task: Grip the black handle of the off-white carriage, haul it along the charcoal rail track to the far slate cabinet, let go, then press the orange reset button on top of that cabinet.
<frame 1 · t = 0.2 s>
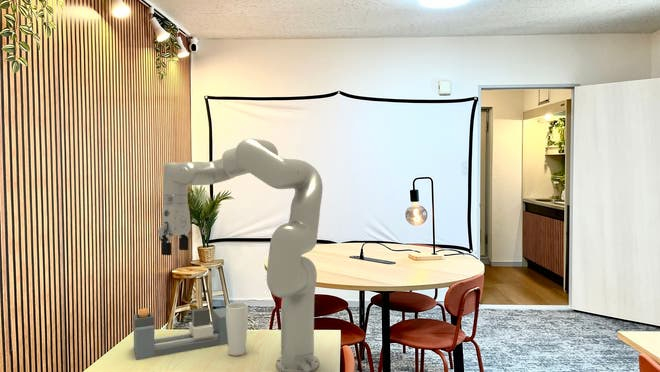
hand: (175, 252, 147), 30 cm above the table, tool pointing down, fingers open, 9 cm apart
rail track: (185, 345, 146), on the table
drinking glass: (236, 353, 140), on the table
carriage: (200, 321, 148), point 7 cm above the table, slide at -5.0 cm
reset button: (143, 314, 140), point 12 cm above the table, slide at 0.0 cm
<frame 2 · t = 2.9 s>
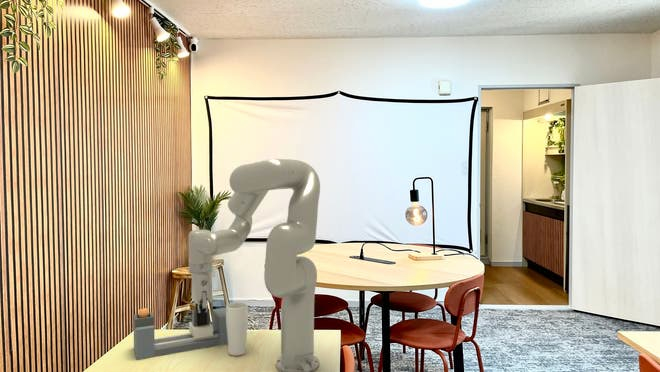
hand: (200, 322, 148), 7 cm above the table, tool pointing down, fingers closed on carriage, 3 cm apart
carriage: (200, 321, 148), point 7 cm above the table, slide at -5.0 cm, touching gripper
everything else where it was.
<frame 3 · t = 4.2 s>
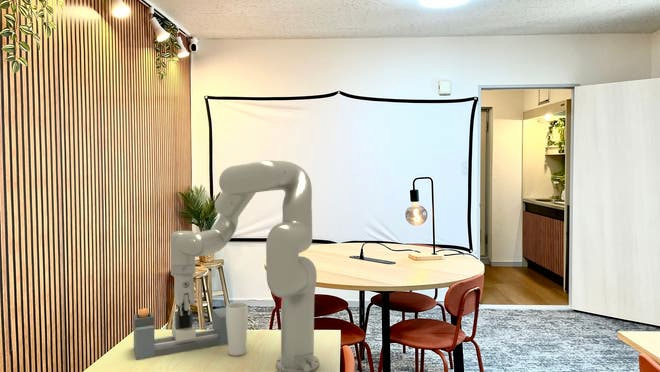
hand: (183, 325, 146), 7 cm above the table, tool pointing down, fingers closed on carriage, 3 cm apart
carriage: (183, 323, 146), point 7 cm above the table, slide at 0.5 cm, touching gripper
everything else where it was.
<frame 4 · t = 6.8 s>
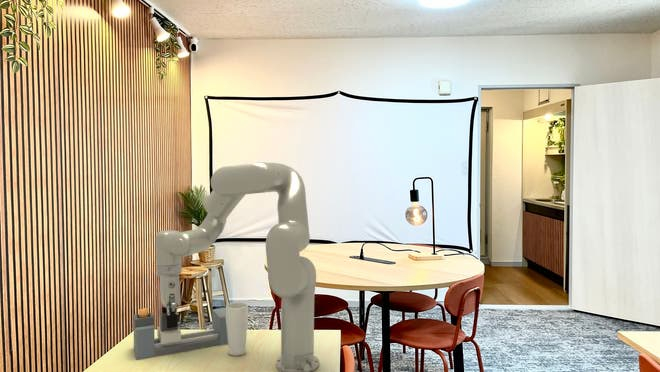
hand: (169, 322, 144), 8 cm above the table, tool pointing down, fingers open, 9 cm apart
carriage: (169, 326, 144), point 7 cm above the table, slide at 5.0 cm
everything else where it was.
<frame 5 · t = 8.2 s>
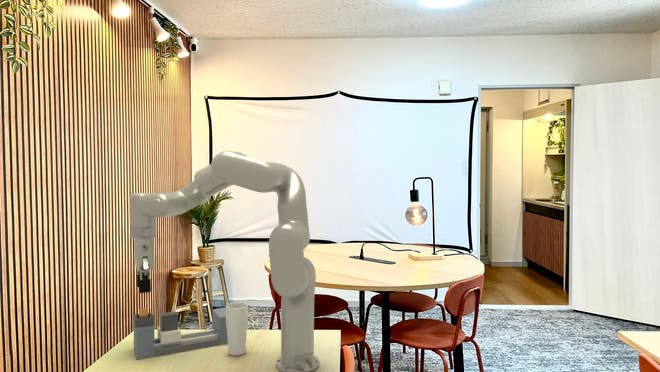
hand: (143, 289, 140), 20 cm above the table, tool pointing down, fingers open, 7 cm apart
nothing on the table moved.
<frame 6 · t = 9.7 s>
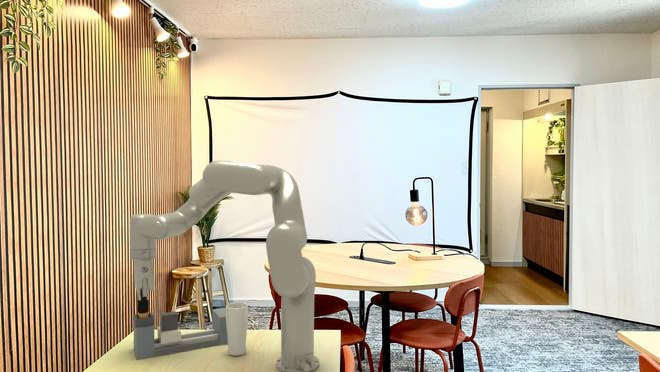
hand: (143, 312, 140), 13 cm above the table, tool pointing down, fingers closed
reset button: (143, 317, 140), point 11 cm above the table, slide at 0.9 cm, touching gripper
everything else where it was.
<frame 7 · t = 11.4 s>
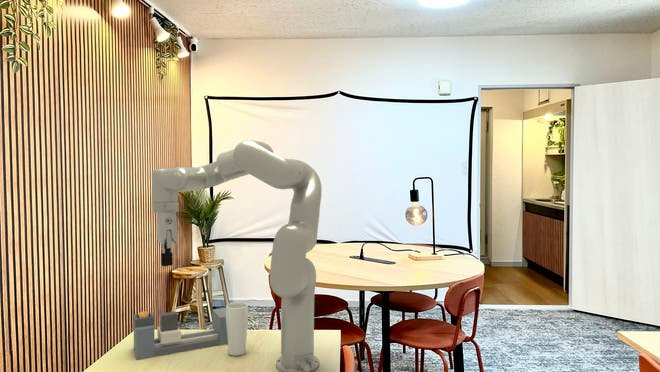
hand: (167, 265, 142), 27 cm above the table, tool pointing down, fingers closed
reset button: (143, 317, 140), point 11 cm above the table, slide at 1.0 cm
everything else where it was.
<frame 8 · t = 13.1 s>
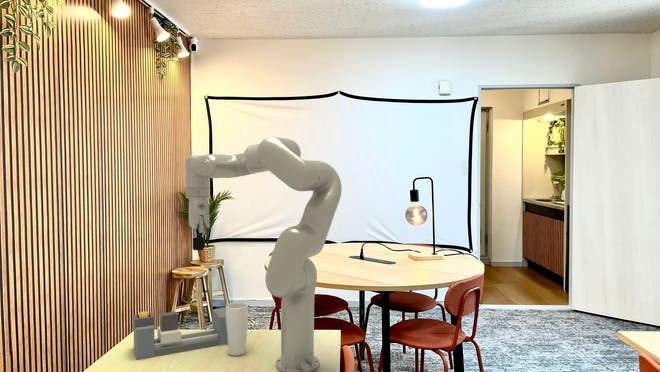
hand: (198, 249, 146), 31 cm above the table, tool pointing down, fingers closed
nothing on the table moved.
at the end: carriage slide at 5.0 cm; reset button slide at 1.0 cm; the gripper is holding nothing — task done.
